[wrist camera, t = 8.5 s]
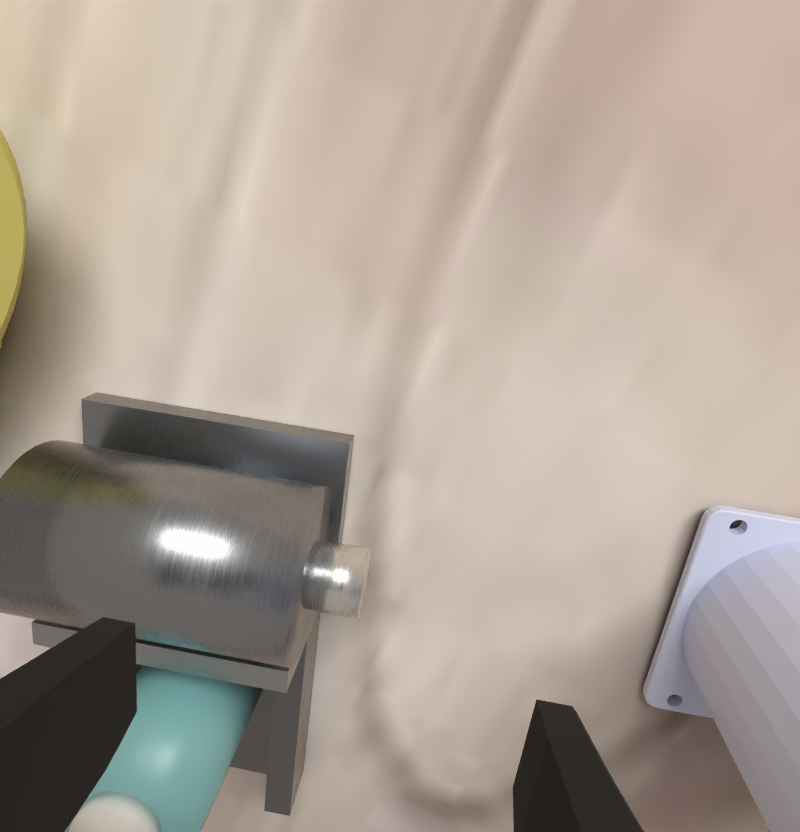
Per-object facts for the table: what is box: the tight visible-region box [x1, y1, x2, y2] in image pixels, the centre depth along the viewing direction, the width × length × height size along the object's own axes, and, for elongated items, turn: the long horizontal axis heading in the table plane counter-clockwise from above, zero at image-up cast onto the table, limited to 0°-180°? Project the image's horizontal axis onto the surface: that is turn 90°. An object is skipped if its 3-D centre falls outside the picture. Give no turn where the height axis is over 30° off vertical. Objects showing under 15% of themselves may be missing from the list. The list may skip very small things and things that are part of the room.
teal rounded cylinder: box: [65, 665, 263, 832], centre depth 19 cm, size 4×4×7 cm
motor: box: [0, 393, 371, 816], centre depth 19 cm, size 10×15×6 cm
